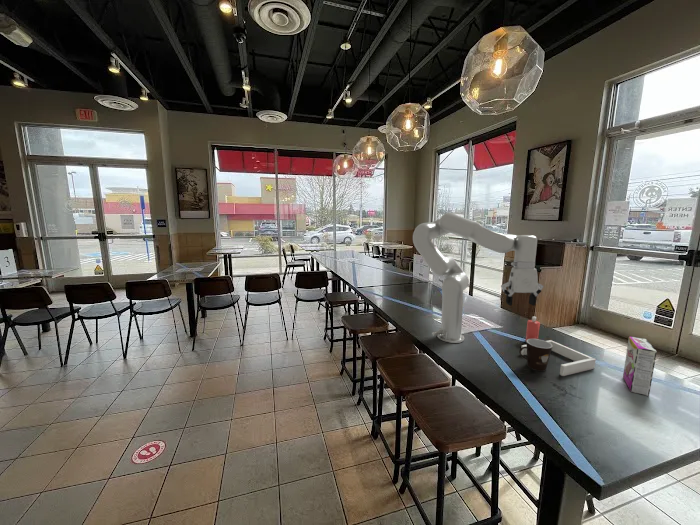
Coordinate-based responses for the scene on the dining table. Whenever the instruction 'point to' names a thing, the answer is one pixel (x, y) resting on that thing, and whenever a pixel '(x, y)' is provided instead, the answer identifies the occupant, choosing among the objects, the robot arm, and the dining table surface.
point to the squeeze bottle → (532, 329)
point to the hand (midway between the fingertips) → (520, 304)
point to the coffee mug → (537, 354)
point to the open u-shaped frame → (581, 359)
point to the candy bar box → (639, 365)
